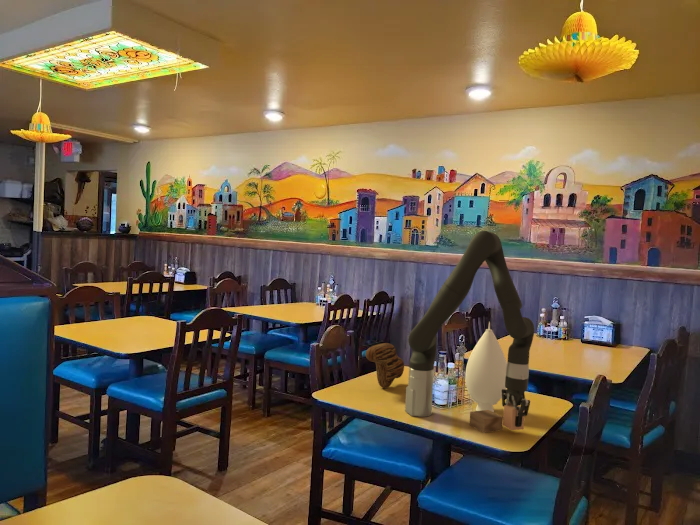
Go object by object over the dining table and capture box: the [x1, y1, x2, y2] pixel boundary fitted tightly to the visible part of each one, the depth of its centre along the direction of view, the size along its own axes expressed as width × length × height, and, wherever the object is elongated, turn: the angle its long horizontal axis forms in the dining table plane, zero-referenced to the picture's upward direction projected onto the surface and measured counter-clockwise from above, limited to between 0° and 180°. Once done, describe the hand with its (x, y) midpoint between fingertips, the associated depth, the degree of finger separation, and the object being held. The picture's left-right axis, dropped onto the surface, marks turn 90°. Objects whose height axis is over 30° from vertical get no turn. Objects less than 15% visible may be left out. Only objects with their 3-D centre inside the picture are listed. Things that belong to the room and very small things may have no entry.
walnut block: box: [469, 410, 503, 434], centre depth 194 cm, size 8×8×5 cm
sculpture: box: [364, 342, 405, 389], centre depth 238 cm, size 26×8×20 cm, turn 145°
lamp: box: [464, 321, 507, 413], centre depth 213 cm, size 16×16×35 cm
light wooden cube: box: [502, 405, 526, 431], centre depth 190 cm, size 5×5×7 cm
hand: (513, 423), depth 190 cm, fingers closed on light wooden cube, 5 cm apart
